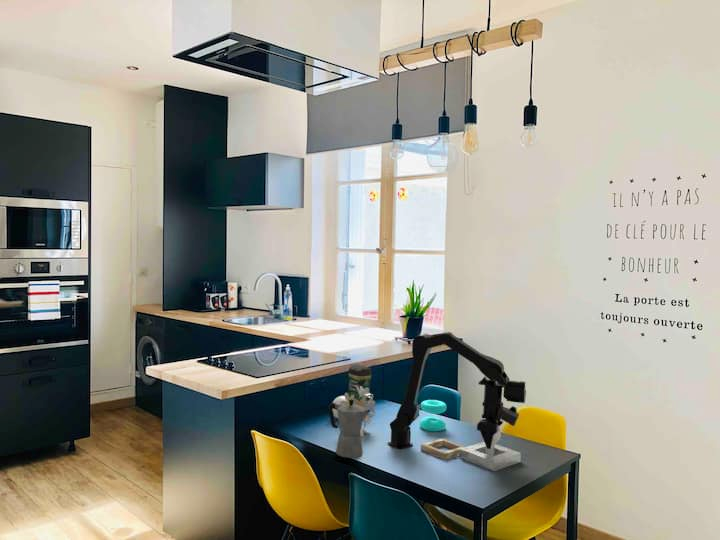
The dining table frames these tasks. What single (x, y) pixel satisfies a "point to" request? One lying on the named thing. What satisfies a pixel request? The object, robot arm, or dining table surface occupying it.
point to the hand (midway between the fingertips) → (490, 445)
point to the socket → (498, 461)
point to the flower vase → (345, 401)
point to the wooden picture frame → (432, 449)
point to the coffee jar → (359, 380)
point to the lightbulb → (493, 443)
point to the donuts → (433, 422)
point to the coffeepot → (348, 428)
